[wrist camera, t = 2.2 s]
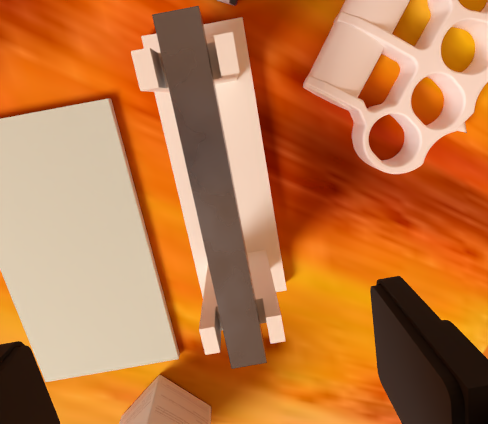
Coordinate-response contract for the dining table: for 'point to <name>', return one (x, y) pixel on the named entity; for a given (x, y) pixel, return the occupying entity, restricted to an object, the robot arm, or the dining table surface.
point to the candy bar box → (229, 2)
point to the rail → (211, 179)
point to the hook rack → (242, 167)
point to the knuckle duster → (411, 73)
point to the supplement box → (167, 406)
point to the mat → (78, 244)
